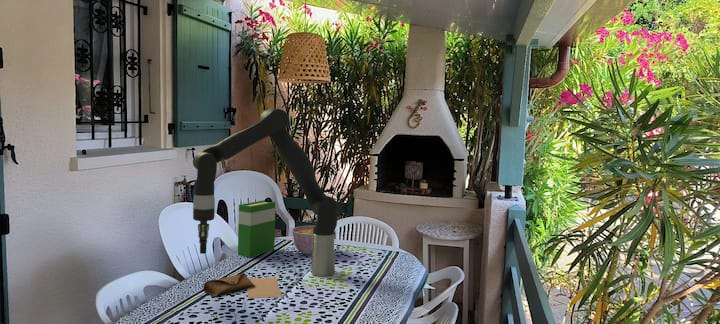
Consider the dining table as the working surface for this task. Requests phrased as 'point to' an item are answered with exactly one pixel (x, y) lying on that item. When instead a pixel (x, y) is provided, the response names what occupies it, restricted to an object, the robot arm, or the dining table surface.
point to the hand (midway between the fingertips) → (203, 253)
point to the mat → (264, 288)
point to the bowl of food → (303, 238)
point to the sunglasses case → (227, 285)
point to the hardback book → (256, 228)
